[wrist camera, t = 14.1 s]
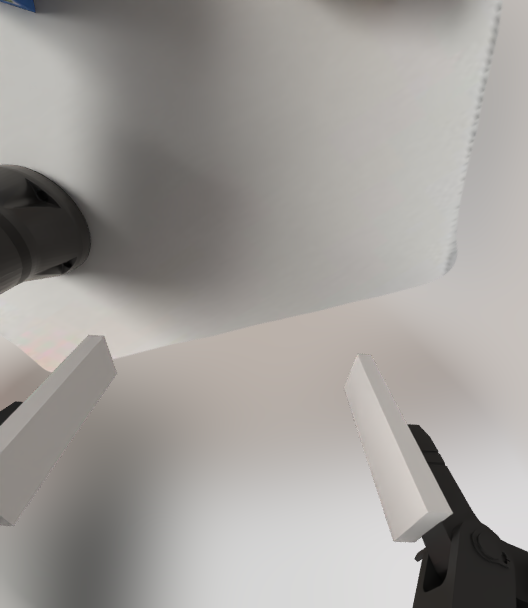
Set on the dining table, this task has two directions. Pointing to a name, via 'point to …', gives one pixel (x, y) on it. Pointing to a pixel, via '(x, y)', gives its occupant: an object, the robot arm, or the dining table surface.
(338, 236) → the dining table surface
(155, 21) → the dining table surface
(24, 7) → the milk carton
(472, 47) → the dining table surface
